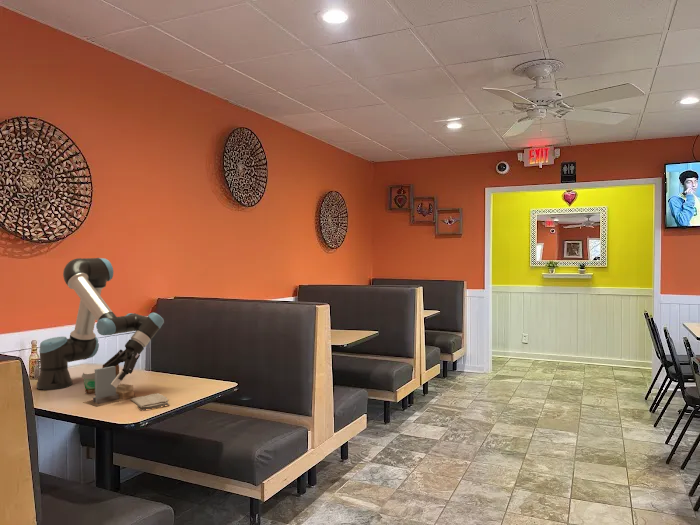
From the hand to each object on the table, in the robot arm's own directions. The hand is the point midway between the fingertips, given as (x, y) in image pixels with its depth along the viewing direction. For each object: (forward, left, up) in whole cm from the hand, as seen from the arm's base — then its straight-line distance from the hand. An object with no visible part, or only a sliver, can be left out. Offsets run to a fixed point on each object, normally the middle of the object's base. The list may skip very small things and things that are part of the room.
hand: (105, 383), depth 223 cm
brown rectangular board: (-2, +1, -8) cm, 9 cm away
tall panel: (-1, 0, -7) cm, 7 cm away
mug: (-33, -20, -9) cm, 39 cm away
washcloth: (-2, +20, -9) cm, 22 cm away
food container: (-13, -14, -9) cm, 21 cm away
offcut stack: (-8, +3, -7) cm, 11 cm away
